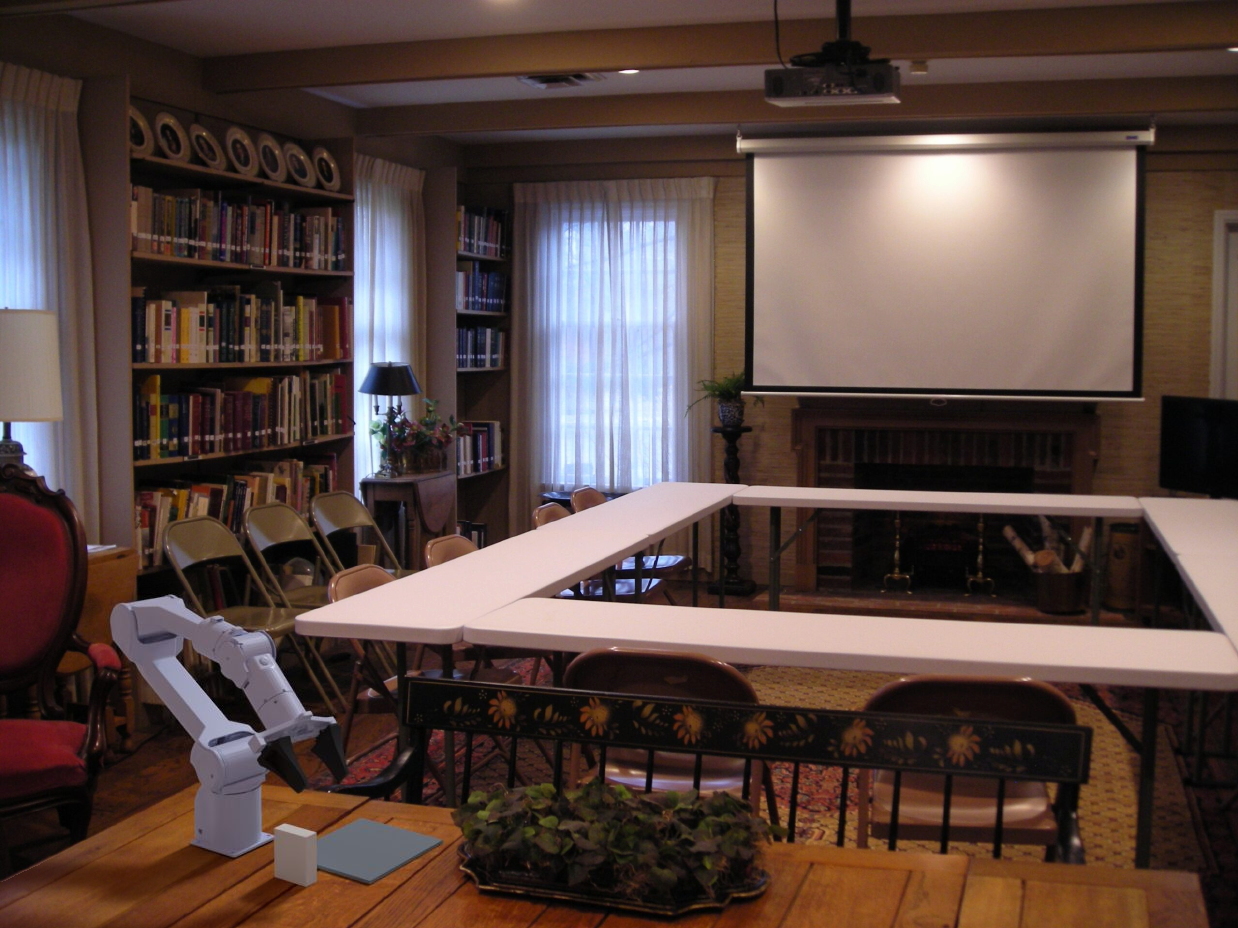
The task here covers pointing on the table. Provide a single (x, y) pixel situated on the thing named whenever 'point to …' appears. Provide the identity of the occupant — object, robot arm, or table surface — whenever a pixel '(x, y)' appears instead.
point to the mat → (370, 850)
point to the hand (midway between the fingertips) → (323, 782)
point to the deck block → (295, 854)
